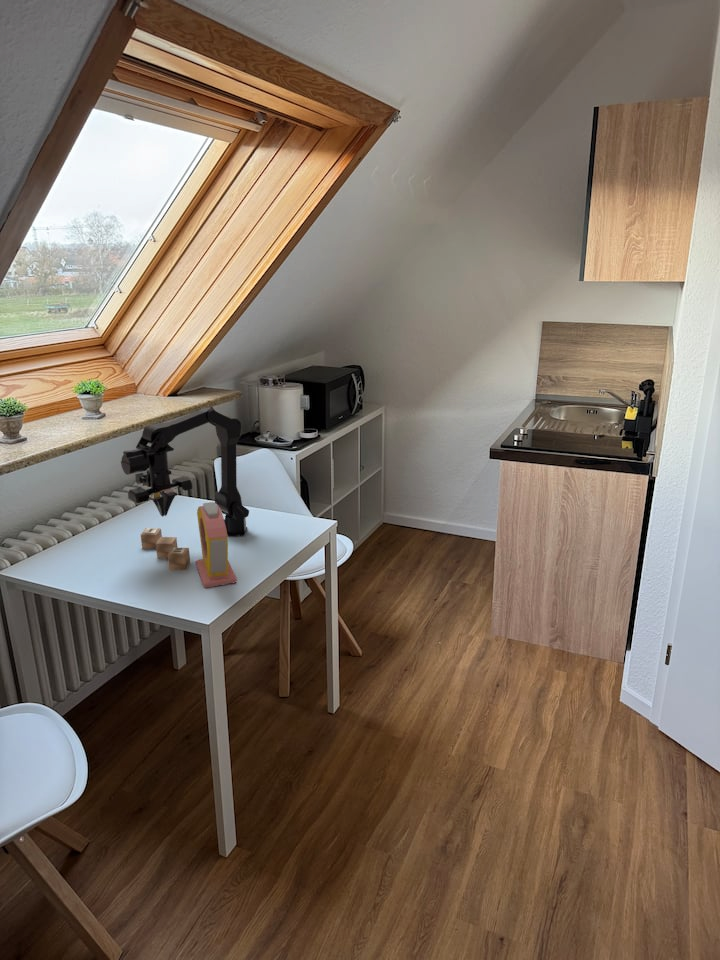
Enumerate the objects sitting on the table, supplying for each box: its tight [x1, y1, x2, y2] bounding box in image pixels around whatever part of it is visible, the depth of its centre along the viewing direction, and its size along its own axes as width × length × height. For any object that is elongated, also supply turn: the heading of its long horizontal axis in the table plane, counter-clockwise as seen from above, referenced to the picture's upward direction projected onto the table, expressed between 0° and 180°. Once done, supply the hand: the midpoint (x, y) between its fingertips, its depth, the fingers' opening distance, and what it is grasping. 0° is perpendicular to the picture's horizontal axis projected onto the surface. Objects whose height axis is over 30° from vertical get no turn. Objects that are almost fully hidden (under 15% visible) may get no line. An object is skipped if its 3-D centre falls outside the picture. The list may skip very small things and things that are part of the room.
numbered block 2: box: [167, 547, 191, 571], centre depth 207 cm, size 5×5×5 cm
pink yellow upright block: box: [195, 501, 238, 589], centre depth 200 cm, size 22×9×22 cm, turn 21°
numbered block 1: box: [140, 527, 163, 550], centre depth 222 cm, size 5×5×5 cm
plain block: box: [155, 536, 179, 559], centre depth 215 cm, size 5×5×5 cm
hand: (163, 515), depth 212 cm, fingers closed
